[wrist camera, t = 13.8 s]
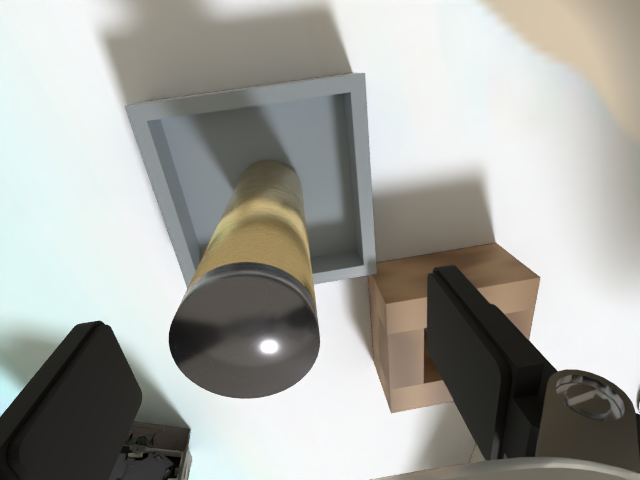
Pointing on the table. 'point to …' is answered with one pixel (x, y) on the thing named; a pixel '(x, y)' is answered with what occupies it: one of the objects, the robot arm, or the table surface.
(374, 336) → the brown square frame
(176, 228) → the parts tray
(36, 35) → the table surface
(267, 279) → the brass pin
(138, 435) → the electrical switch
